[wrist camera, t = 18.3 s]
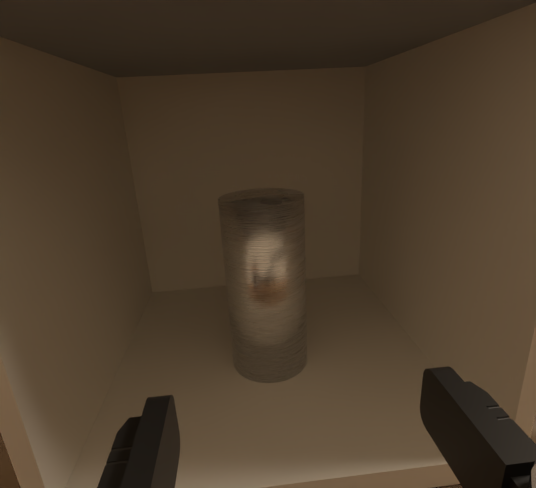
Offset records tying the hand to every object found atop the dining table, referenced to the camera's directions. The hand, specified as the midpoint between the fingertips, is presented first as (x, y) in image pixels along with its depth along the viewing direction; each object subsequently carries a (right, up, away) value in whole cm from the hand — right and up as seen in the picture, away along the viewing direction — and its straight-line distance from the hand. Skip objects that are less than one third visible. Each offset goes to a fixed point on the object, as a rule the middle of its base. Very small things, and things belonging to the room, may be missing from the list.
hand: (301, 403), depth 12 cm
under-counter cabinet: (-1, -4, +18) cm, 18 cm away
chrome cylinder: (-1, -3, +15) cm, 16 cm away
